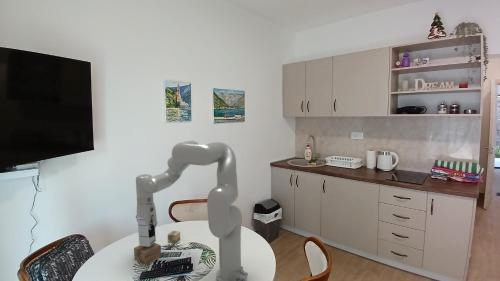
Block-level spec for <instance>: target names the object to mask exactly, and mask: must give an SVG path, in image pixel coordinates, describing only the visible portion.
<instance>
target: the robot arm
mask: <svg viewBox="0 0 500 281" xmlns="http://www.w3.org/2000/svg"><path fill="white" fill-rule="evenodd" d="M215 163H217V168H216V182H217V183H216V186H214V187H213V188H212V189H211V190H210V191H209V193H208V195H207V200H206V206H207V208H206V209H207V222H208V229H209V231H210V233H211V234H212V235H213V236H214V237H215V238H218V256H219V257H218V258H219V260H218V261H219V262H218V263H219V266H218V267H219V269H217V272H216V273H215V278H216V280H217V281H247V280H248V274H249V273H248V272H246V271H245V270H244V266H243V265H242V255H241V254H242V248H241V246H242V244H241V243H242V242H241V240H242V238H241V237H242V224H243V214H242V211H241V209H240V208H239V207H238V206H237V205H233V203H235V202H236V201H237V200H238V197H239V188H238V175H237V158H236V154H235V152H234V150H233V149H232V147H230V146H229V145H228V144H227V143H224V142H220V141H215V142H210V143H206V144H200V143H199V142H197V141H196V140H195V141H194V140H188V141H182V142H178V143H177V144H176V143H175V145H174V146H173V147H172V149H171V156H170V158H168V159H167V166H168V168H167V169H166V170H165V171H164V172H162V173H160V174H158V175H154V176H152V175H151V174H139V175H137V176H136V178H135V189H136V215H135V219H136V222H137V223H138V219H137V218H138V217H143V218H144V221H145V223H146V224H148V227H149V230H148V233H149V238H151V237H153V236H156V227H157V225H158V220H157V209H156V205H155V204H156V203H155V202H154V194H156V193H158V192H161V191H163V190H165V189H167V188H170V187H171V186H172V185H173V184H174V183H176V182H177V181H178V180H179V179H180V177H182V174H183V172H184V171H185V170H186V169H187V168H188V167H190V165H193V166H201V167H202V166H210V165H212V164H215ZM150 222H151V223H150ZM150 224H152V226H150Z"/></svg>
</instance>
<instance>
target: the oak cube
mask: <svg viewBox="0 0 500 281" xmlns="http://www.w3.org/2000/svg"><path fill="white" fill-rule="evenodd" d="M180 241H181V231H178V230H177V231H176V230H171V231H170V232H169V233H168V234H167V244H173V245H177V243H178V242H180Z"/></svg>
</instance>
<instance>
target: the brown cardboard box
mask: <svg viewBox="0 0 500 281" xmlns="http://www.w3.org/2000/svg"><path fill="white" fill-rule="evenodd" d="M133 256H134V257H133V258H134V261H137V262H138V263H141V264H143V266H146V265H149V264H150V263H152V262H154V261H156V260H158V259H160V258H162V245H161V244H159V243H156V242H154V243H153V244H152V245H151V246H150V247H147V246H140V245H137V246H135V247H133Z"/></svg>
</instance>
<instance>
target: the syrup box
mask: <svg viewBox="0 0 500 281" xmlns="http://www.w3.org/2000/svg"><path fill="white" fill-rule="evenodd" d="M137 219H138V222H137V231H138V232H137V233H138V244H139V245H140V246H147V247H150V246H151V245H152V244H153V243H156V241H157V238H156V235H155V236H153V237H151V238H149V233H148V230H149V227H148V224H146V223H145V221H144V218H143V217H138V218H137ZM137 219H136V220H137ZM150 223H151V222H150ZM150 226H152V224H150ZM139 245H138V246H139Z"/></svg>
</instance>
